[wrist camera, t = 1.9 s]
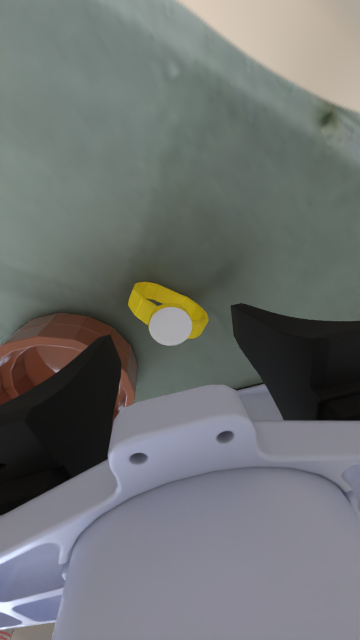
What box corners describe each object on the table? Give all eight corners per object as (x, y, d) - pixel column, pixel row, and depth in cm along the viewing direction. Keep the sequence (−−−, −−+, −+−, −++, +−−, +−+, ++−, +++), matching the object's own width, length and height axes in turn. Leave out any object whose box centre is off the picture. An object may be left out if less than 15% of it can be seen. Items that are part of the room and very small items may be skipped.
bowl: (115, 296, 18) (104, 320, 14) (150, 393, 23) (150, 430, 19) (-18, 328, 18) (-66, 360, 14) (46, 418, 23) (25, 461, 19)
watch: (204, 294, 19) (224, 325, 14) (190, 321, 20) (204, 359, 15) (140, 267, 18) (135, 290, 12) (128, 297, 19) (119, 330, 13)
